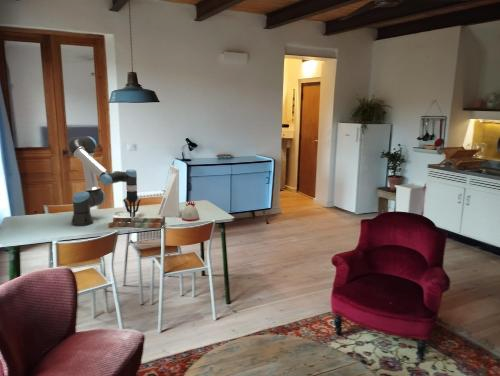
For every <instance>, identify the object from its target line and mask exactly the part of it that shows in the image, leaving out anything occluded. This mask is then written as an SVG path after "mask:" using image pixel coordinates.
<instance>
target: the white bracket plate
mask: <svg viewBox="0 0 500 376" xmlns="http://www.w3.org/2000/svg"><path fill="white" fill-rule="evenodd" d="M156 215H157V216H159V218H163V216H165V218H171V217H176V218H180V168H178V167H175V166H173V165H170V178H169V181H168V183H167V185H166V189H165V192H164V193H163V197H162V199H161V202H160V206H159V208H158V211H157V213H156Z"/></svg>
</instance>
